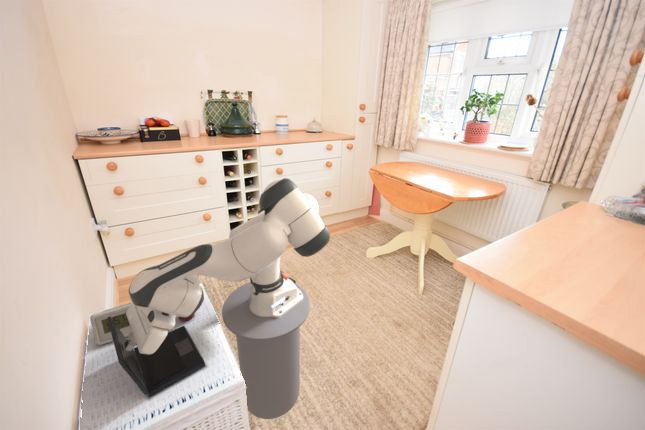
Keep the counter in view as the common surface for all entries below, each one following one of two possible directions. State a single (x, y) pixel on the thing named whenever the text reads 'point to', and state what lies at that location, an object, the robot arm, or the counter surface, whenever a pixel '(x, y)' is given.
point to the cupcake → (186, 318)
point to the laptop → (169, 361)
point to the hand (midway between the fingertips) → (127, 347)
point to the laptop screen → (126, 356)
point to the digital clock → (102, 325)
